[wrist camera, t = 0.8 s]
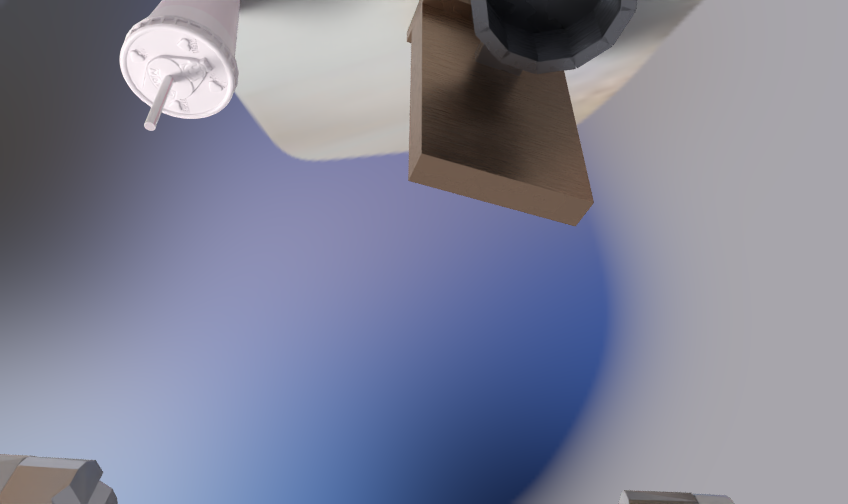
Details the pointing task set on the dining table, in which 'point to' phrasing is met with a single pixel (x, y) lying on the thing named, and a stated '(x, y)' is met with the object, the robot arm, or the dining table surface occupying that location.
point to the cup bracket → (505, 99)
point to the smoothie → (183, 58)
